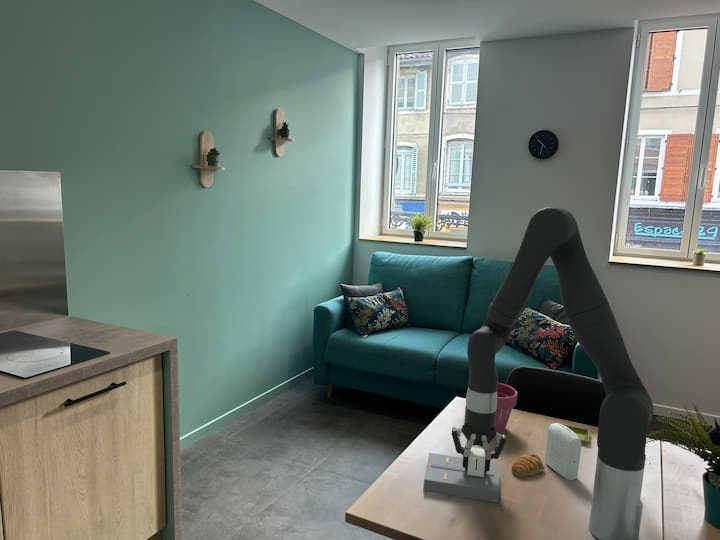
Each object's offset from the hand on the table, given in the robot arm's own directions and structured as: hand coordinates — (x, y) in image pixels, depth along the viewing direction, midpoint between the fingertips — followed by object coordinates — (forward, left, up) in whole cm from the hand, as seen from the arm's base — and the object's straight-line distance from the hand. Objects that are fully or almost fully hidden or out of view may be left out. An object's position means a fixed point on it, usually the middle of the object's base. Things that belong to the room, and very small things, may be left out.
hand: (475, 470), depth 135 cm
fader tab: (0, 0, 0) cm, 0 cm away
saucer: (-30, -37, -4) cm, 48 cm away
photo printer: (-23, -14, -4) cm, 27 cm away
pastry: (-14, -11, -4) cm, 18 cm away
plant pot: (-5, -36, -4) cm, 37 cm away
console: (+3, 0, -4) cm, 5 cm away
